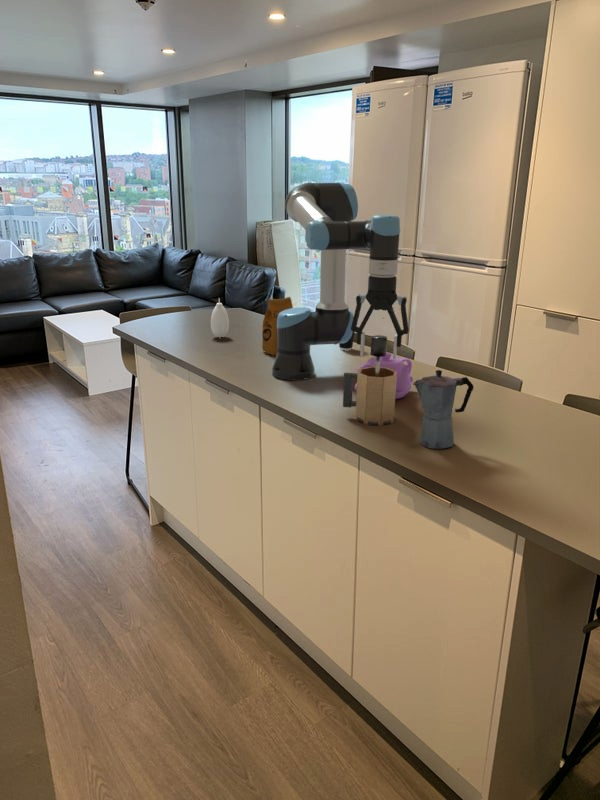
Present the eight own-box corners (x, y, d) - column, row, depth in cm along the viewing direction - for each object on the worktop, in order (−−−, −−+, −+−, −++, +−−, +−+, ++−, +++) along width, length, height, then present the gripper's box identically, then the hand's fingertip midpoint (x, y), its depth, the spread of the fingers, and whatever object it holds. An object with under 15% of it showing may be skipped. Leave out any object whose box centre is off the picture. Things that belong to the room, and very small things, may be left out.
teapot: (378, 412, 181) (381, 367, 176) (341, 391, 199) (342, 350, 194) (436, 401, 191) (440, 359, 186) (395, 382, 209) (398, 343, 204)
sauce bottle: (232, 337, 269) (231, 296, 263) (221, 340, 263) (220, 299, 257) (219, 334, 273) (217, 295, 267) (207, 338, 267) (206, 297, 261)
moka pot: (404, 436, 163) (409, 365, 156) (460, 435, 164) (467, 364, 158) (413, 451, 154) (419, 376, 148) (472, 449, 155) (481, 375, 149)
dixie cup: (346, 346, 256) (347, 320, 252) (359, 349, 250) (360, 323, 247) (332, 348, 251) (333, 322, 248) (345, 352, 246) (346, 326, 242)
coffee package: (259, 351, 247) (258, 297, 239) (285, 347, 253) (285, 294, 246) (271, 356, 239) (270, 301, 232) (297, 352, 245) (298, 298, 238)
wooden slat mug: (339, 422, 173) (341, 375, 168) (345, 409, 183) (347, 364, 178) (392, 427, 170) (395, 379, 165) (395, 413, 180) (398, 368, 175)
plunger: (361, 401, 171) (364, 339, 165) (364, 392, 178) (367, 333, 172) (388, 403, 169) (392, 341, 164) (390, 394, 176) (394, 334, 171)
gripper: (341, 275, 161) (338, 357, 168) (422, 278, 157) (416, 363, 164) (345, 272, 168) (342, 351, 175) (423, 275, 163) (417, 355, 171)
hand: (378, 356), depth 170 cm, fingers open, 8 cm apart
